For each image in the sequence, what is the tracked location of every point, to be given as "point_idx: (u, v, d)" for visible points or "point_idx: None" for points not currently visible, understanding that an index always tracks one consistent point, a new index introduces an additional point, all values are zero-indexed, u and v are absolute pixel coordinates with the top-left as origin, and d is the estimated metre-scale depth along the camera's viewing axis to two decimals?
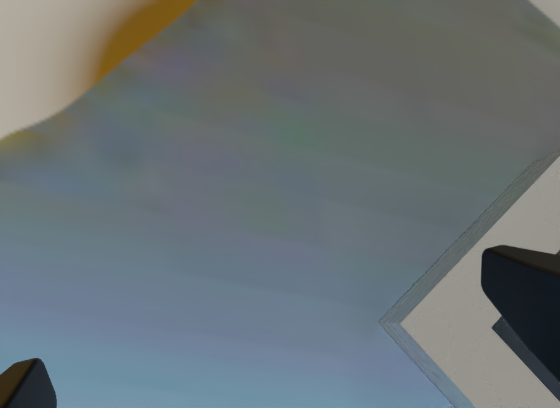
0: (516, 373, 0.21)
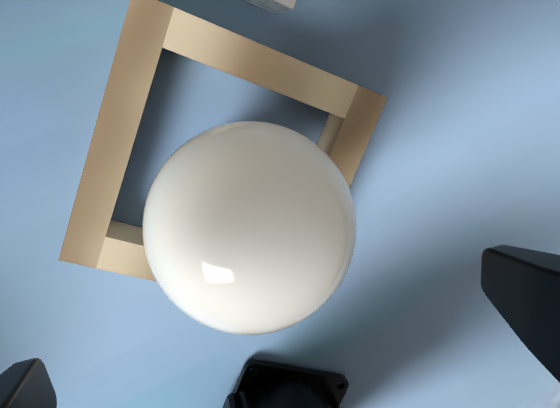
0: None
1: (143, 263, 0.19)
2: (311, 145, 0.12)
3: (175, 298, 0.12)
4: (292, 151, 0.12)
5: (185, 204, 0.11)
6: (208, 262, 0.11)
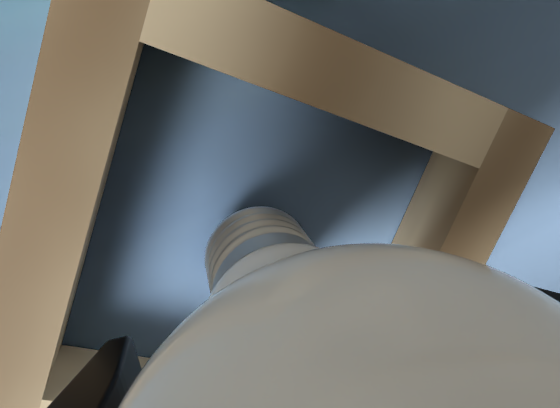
0: None
1: None
2: None
3: None
4: None
5: None
6: None
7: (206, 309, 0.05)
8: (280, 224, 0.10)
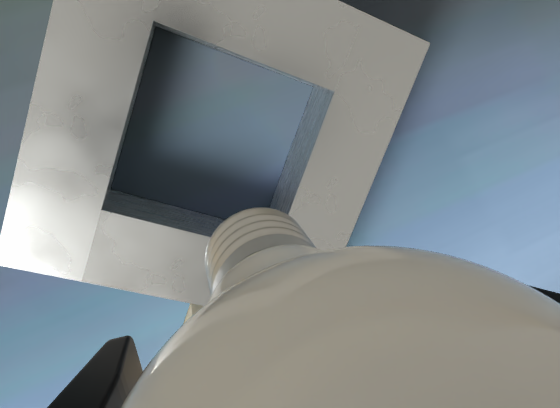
0: (153, 237, 0.19)
1: None
2: None
3: None
4: None
5: None
6: None
7: (207, 313, 0.04)
8: (281, 225, 0.10)
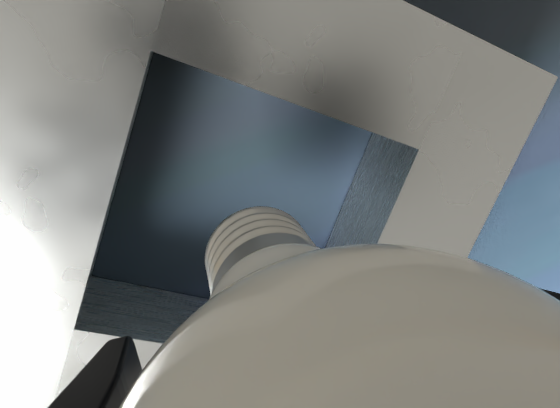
0: None
1: None
2: None
3: None
4: None
5: None
6: None
7: (206, 311, 0.04)
8: (280, 224, 0.10)
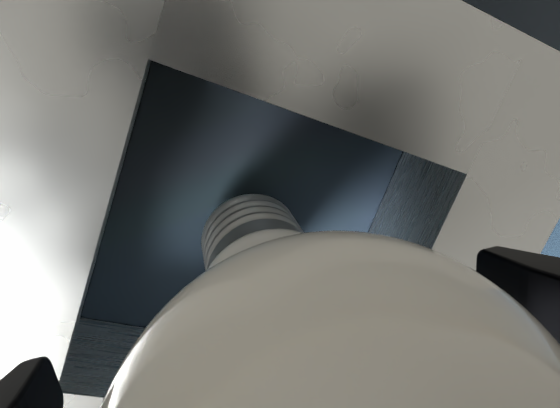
0: None
1: None
2: (531, 330, 0.04)
3: None
4: (519, 395, 0.04)
5: None
6: None
7: (192, 286, 0.05)
8: (270, 211, 0.11)
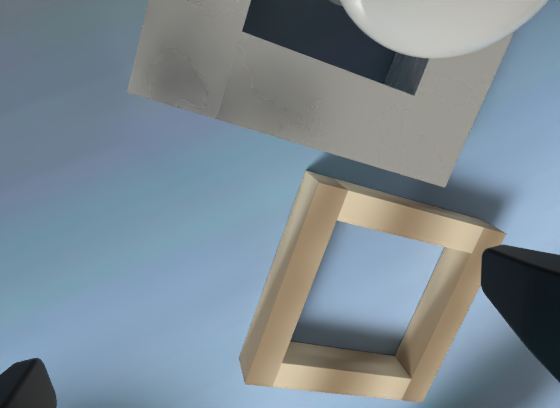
0: (294, 69, 0.17)
1: (308, 379, 0.23)
2: None
3: None
4: None
5: None
6: None
7: None
8: None
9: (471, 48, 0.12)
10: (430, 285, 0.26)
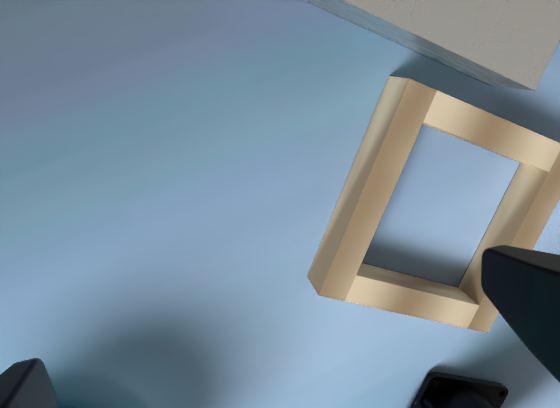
0: None
1: (380, 296, 0.23)
2: None
3: None
4: None
5: None
6: None
7: None
8: None
9: None
10: (500, 212, 0.25)
